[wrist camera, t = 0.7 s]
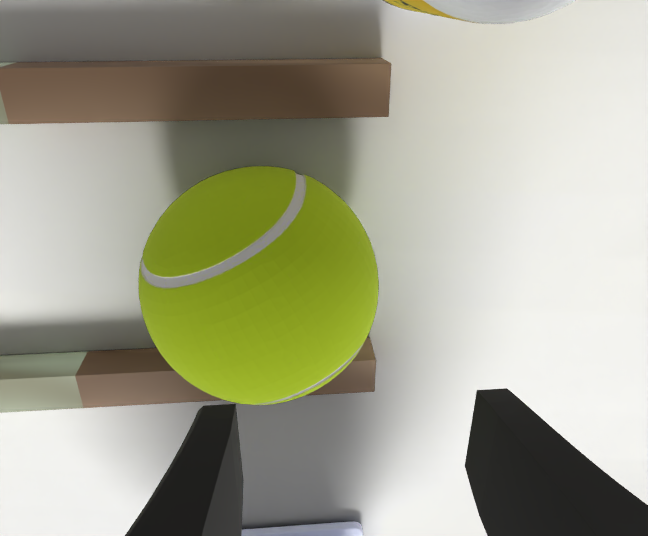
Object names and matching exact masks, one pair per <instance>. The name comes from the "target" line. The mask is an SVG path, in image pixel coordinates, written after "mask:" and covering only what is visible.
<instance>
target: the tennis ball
mask: <svg viewBox="0 0 648 536" xmlns="http://www.w3.org/2000/svg"><path fill="white" fill-rule="evenodd" d="M378 290H379V281H378V271H377V264H376V260H375V256H374V252H373V249H372V246H371V243H370V240H369V238H368V236H367V234H366V232H365V230H364V228H363V226H362V224H361V223H360V221H359V219H358V218H357V217H356V215H355V214H354V213H353V211H352V210H351V209H350V208H349V206H348V205H347V204H346V203H345V202H344V201H343V200H342V199H341V198H340V197H339V196H338V195H336V194H335V193H334V192H333V191H332V190H330V189H329V188H328V187H327V186H325V185H324V184H322V183H320V182H319V181H317V180H315V179H314V178H312V177H310V176H307V175H305V174H303V175H300V174H297V173H295V171H294V170H290V169H285V168H280V167H270V166H251V167H243V168H237V169H233V170H229V171H225V172H222V173H219V174H216V175H213V176H211V177H209V178H207V179H205V180H203V181H201V182H199V183H197V184H196V185H194V186H193V187H191V188H190V189H188V190H187V191H186V192H185V193H183V194H182V195H181V196H180V197H179V198H177V199H176V200H175V201H174V202H173V203H172V204H171V205H170V206H169V207H168V208H167V210H166V211H165V212H164V213H163V215H162V216H161V217H160V219H159V220H158V222H157V223H156V225H155V227H154V228H153V230H152V232H151V233H150V236H149V238H148V240H147V242H146V245H145V248H144V250H143V256H142V259H141V262H140V269H139V299H140V305H141V310H142V314H143V318H144V321H145V324H146V327H147V329H148V332H149V334H150V336H151V338H152V340H153V342H154V344H155V346H156V347H157V349H158V350H159V352H160V353H161V355H162V356H163V357H164V359H165V360H166V361H167V363H168V364H169V365H170V366H171V367H172V368H173V369H174V370H175V371H176V372H177V373H178V374H179V375H181V376H182V377H183V378H184V379H185V380H187V381H188V382H189V383H191V384H192V385H194V386H195V387H197V388H199V389H200V390H202V391H204V392H206V393H208V394H210V395H212V396H215V397H218V398H221V399H223V400H226V401H230V402H235V403H240V404H251V405H270V404H277V403H282V402H287V401H290V400H293V399H297V398H299V397H302V396H304V395H307V394H309V393H311V392H313V391H315V390H317V389H319V388H320V387H322V386H324V385H325V384H327V383H328V382H330V381H331V380H332V379H333V378H335V377H336V376H337V375H338V374H340V373H341V372H342V371H343V370H344V369H345V368H346V367H347V366H348V365H349V364H350V363H351V362H352V360H353V359H354V358H355V356H356V355H357V354H358V352H359V351H360V349H361V347H362V346H363V344H364V342H365V339H366V338H367V336H368V334H369V332H370V329H371V327H372V324H373V321H374V317H375V313H376V308H377V303H378Z"/></svg>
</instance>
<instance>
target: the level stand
mask: <svg viewBox="0 0 648 536" xmlns="http://www.w3.org/2000/svg"><path fill="white" fill-rule="evenodd" d="M390 77H391V63H389V62H387V61H386V60H384V59H382V58H361V59H271V60H180V61H90V62H0V124H36V123H88V122H141V121H193V120H246V119H298V118H351V117H388V116H389V97H390ZM375 370H376V358H375V355H374V351H373V348H372V344H371V340H370V338H366V339H365V342H364V344H363V346H362V347H361V349H360V351H359V352H358V354H357V355H356V356H355V358H354V359H353V360H352V362H351V363H350V364H349V365H348V366H347V367H346V368H345V369H344V370H343V371H342V372H341V373H340V374H338V375H337V376H336V377H335V378H333V379H332V380H331V381H330V382H328V383H327V384H325V385H324V386H322V387H320V388H319V389H317V390H315V391H313V392H311V393H309V394H307V395H321V394H339V393H357V392H374V390H375ZM215 400H223V399H221V398H218V397H215V396H212V395H210V394H208V393H206V392H204V391H202V390H200V389H199V388H197V387H195V386H194V385H192V384H191V383H189V382H188V381H187V380H185V379H184V378H183V377H182V376H181V375H179V374H178V373H177V372H176V371H175V370H174V369H173V368H172V367H171V366H170V365H169V364H168V363H167V361H166V360H165V359H164V357H163V356H162V355H161V353H160V352H159V350H158V349H157V348H147V349H127V350H106V351H86V352H66V353H45V354H25V355H4V356H0V413H2V412H20V411H38V410H56V409H73V408H91V407H109V406H126V405H144V404H162V403H180V402H197V401H215Z"/></svg>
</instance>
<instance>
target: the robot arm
mask: <svg viewBox="0 0 648 536" xmlns="http://www.w3.org/2000/svg"><path fill="white" fill-rule="evenodd" d="M465 468H466V471H467V475H468V478H469V482H470V486H471V489H472V493H473V496H474V499H475V503H476V506H477V509H478V512H479V516H480V518H481V521H482V523H483V525H484V528H485V530H486V533H487V535H488V536H648V505H646V504H645V503H644V502H642V501H641V500H640V499H639V498H637V497H636V496H635V495H633V494H632V493H631V492H629V491H628V490H627V489H625V488H624V487H623V486H621V485H620V484H619V483H618V482H616V481H615V480H614V479H613V478H611V477H610V476H609V475H608V474H606V473H605V472H604V471H603V470H601V469H600V468H599V467H598V466H596V465H595V464H594V463H593V462H592V461H590V460H589V459H588V458H587V457H586V456H584V455H583V454H582V453H581V452H580V451H578V450H577V449H576V448H575V447H574V446H572V445H571V444H570V443H569V442H568V441H567V440H565V439H564V438H563V437H562V436H561V435H560V434H559V433H557V432H556V431H555V430H554V429H553V428H552V427H551V426H549V425H548V424H547V423H546V422H545V421H544V420H543V419H541V418H540V417H539V416H538V415H537V414H536V413H535V412H534V411H532V410H531V409H530V408H529V407H528V406H527V405H526V404H524V403H523V402H522V401H521V400H520V399H519V398H518V397H516V396H515V395H514V394H513V393H512V392H511V391H509V390H508V389H491V390H477V394H476V400H475V406H474V412H473V419H472V425H471V431H470V437H469V444H468V450H467V456H466V462H465ZM242 504H243V474H242V464H241V454H240V443H239V433H238V423H237V413H236V404H228V405H210V406H203V407H202V408H201V409H200V410H199V411H198V413H197V415H196V417H195V419H194V422H193V424H192V426H191V428H190V430H189V432H188V434H187V436H186V438H185V440H184V441H183V443H182V445H181V447H180V449H179V451H178V452H177V454H176V456H175V458H174V460H173V461H172V463H171V465H170V467H169V468H168V470H167V472H166V473H165V475H164V477H163V478H162V480H161V481H160V483H159V485H158V486H157V488H156V490H155V491H154V493H153V495H152V496H151V498H150V499H149V501H148V503H147V504H146V506H145V507H144V509H143V510H142V512H141V513H140V514H139V516H138V517H137V519H136V520H135V522H134V523H133V525H132V526H131V528H130V529H129V531H128V532H127V534H126V535H125V536H363V529H362V525H361V524H360V523H358V522H354V521H351V522H337V523H324V524H310V525H297V526H283V527H270V528H256V529H242Z"/></svg>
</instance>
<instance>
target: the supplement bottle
mask: <svg viewBox="0 0 648 536" xmlns="http://www.w3.org/2000/svg"><path fill="white" fill-rule="evenodd" d="M383 1H384V2H386V3H389V4H391V5H394V6H396V7H399V8H402V9H406V10H411V11H416V12H422V13H427V14H432V15H437V16H443V17H447V18H452V19H458V20H463V21H468V22H473V23H482V24H486V23H491V24H504V23H515V22H521V21H527V20H531V19H534V18H538V17H541V16H544V15H547V14H549V13H552V12H554V11H556V10H558V9H560V8H562V7H564V6H566V5H568V4H570V3H572V2H574V1H575V0H383Z"/></svg>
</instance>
